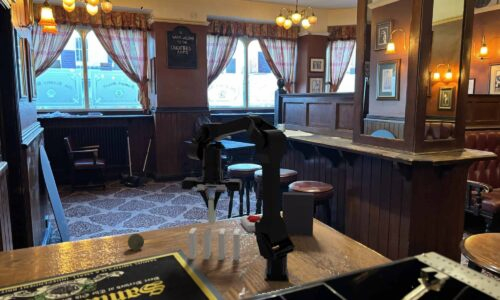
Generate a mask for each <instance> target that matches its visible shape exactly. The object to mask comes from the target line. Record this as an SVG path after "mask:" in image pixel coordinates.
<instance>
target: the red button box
mask: <svg viewBox="0 0 500 300" xmlns="http://www.w3.org/2000/svg"><path fill="white" fill-rule="evenodd" d="M261 217H262V216H260V215H254V214H253V215H252V214H250V215H248V216H241V218H240V220H239V222H240V223H241V225H242V226H243V228H245V230H246V231H247V232H248V233H253V231H255V221H257V220H260V219H261Z"/></svg>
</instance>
